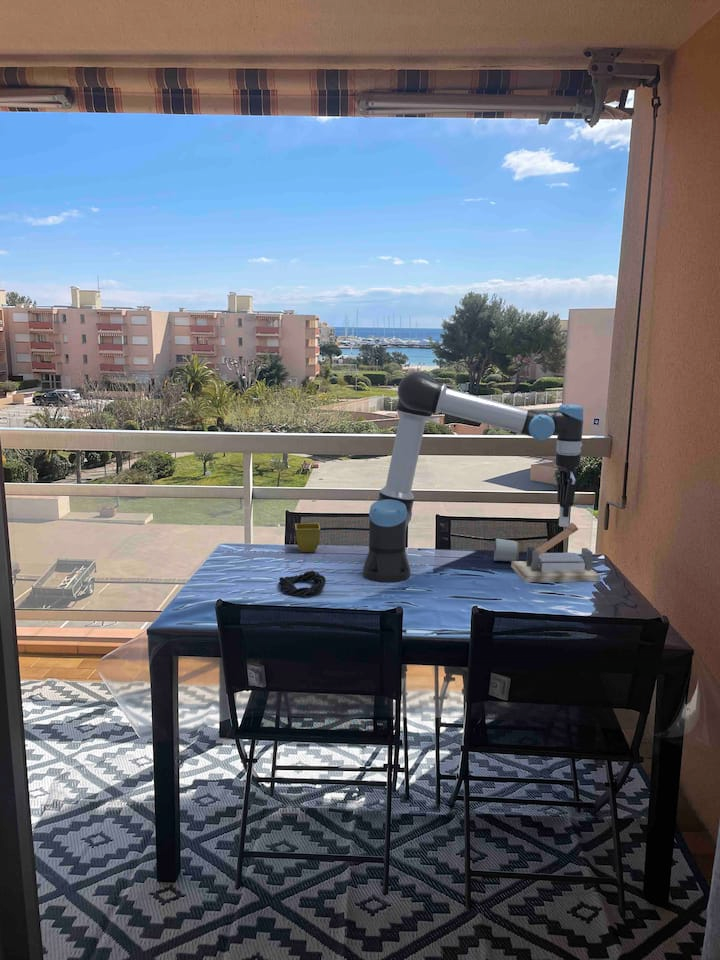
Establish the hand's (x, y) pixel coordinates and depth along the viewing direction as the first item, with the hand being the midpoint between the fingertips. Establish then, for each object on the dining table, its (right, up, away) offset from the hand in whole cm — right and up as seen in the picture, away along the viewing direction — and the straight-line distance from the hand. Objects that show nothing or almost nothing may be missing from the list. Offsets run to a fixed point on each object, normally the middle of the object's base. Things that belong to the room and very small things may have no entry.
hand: (563, 525), depth 242 cm
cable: (-83, -18, -17) cm, 87 cm away
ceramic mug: (-16, -13, +18) cm, 27 cm away
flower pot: (-84, -10, +25) cm, 89 cm away
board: (-2, -16, +3) cm, 16 cm away
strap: (-2, -6, +1) cm, 6 cm away
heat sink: (-1, -14, +2) cm, 14 cm away
